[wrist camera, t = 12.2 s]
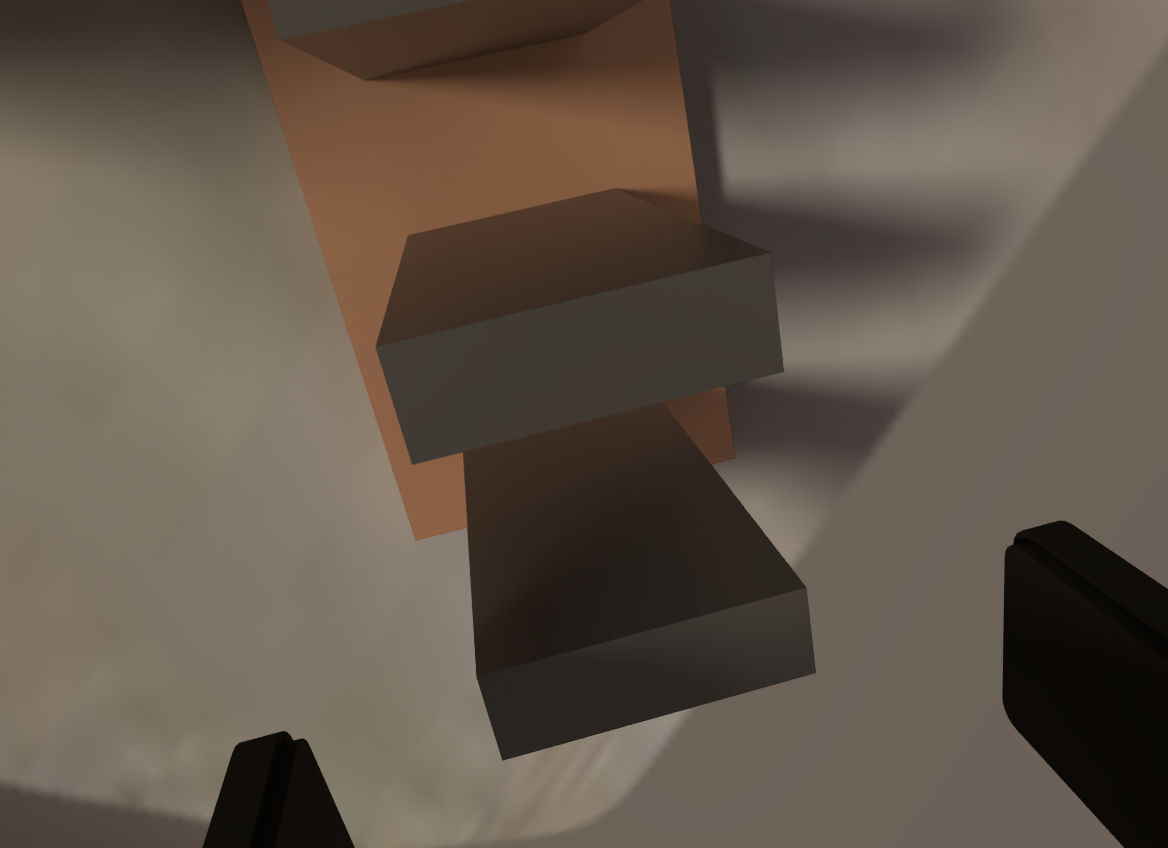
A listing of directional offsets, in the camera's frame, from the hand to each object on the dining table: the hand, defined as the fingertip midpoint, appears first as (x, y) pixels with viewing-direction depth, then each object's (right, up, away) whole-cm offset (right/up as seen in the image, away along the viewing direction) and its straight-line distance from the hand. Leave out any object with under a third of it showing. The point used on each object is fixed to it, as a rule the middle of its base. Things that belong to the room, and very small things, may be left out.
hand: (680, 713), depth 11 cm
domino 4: (-3, +8, +9) cm, 12 cm away
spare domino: (-2, +3, +11) cm, 12 cm away
